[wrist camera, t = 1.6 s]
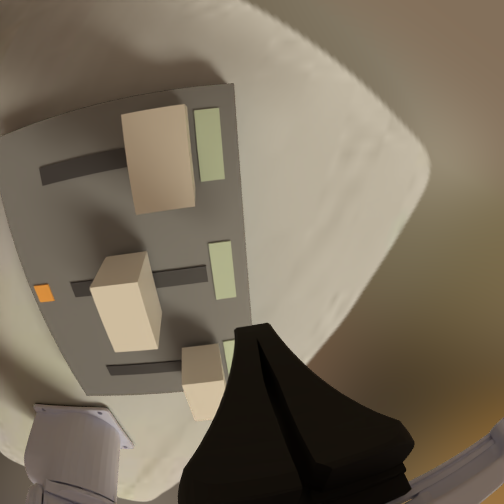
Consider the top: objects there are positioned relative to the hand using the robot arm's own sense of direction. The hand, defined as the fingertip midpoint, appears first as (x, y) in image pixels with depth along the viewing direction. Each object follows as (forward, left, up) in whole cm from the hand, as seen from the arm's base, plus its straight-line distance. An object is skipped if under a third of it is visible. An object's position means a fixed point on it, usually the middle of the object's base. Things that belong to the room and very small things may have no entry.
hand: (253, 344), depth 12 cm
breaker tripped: (-6, 0, -6) cm, 8 cm away
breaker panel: (-6, 0, -8) cm, 10 cm away
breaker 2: (-3, -7, -6) cm, 10 cm away
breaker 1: (-3, +7, -6) cm, 10 cm away
